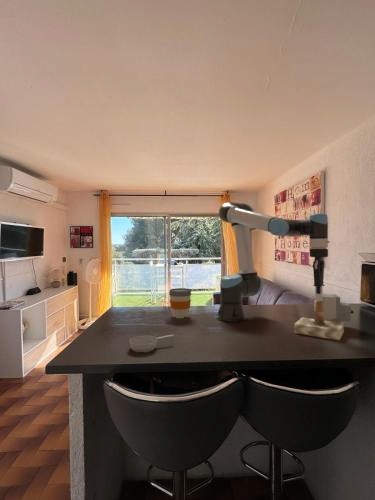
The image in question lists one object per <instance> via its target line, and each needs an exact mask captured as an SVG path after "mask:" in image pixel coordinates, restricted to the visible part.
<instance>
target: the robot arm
mask: <svg viewBox="0 0 375 500" xmlns="http://www.w3.org/2000/svg"><path fill="white" fill-rule="evenodd" d="M218 216H219V218H220V219H221V221H222V222H224V223H229V224H230V225H231V228H232V229H233V230H234V236H235V245H236V246H235V247H236V257H237V264H238V272H236V274H235V273H233V274H227V275H223V276H222V277H221V278H220V283H219V287H220V288H219V289H220V291H219V292H220V293H219V294H220V305H219V309H218V310H217V311H218V312H217V320H219V321H223V322H231V323H234V322H235V323H236V322H237V323H238V322H243V321H245V320H246V318H247V317H246V312H245V309H244V306H243V298H248V297H254V296H257V295H259V294H260V293H261V292H262V290H263V286H264V284H263V283H264V282H263V280H262V278H261V276H260V275H258V271H257V270H256V269H255V267H254V265H255V264H254V257H253V249H252V240H251V231H250V230H251V229H250V228H254V229H257V230H260V231H264V232H268V233H270V234H271V235H273V236H276V237H281V236H284V237H285V236H286V237H303V236H306V237H307V236H309V248H310V249H309V257H310V258H314V259H313V260H314V261H313V262H312V263H313V264H312V269H313V271H312V272H313V282H314V283H313V287H315V293H314V294H315V296H314V297H315V299H314V301H323V294H324V293H323V287H325V284H324V277H325V275H324V274H325V261H324V258H328V257H329V249H328V247H329V243H330V240H329V238H328V237H329V229H328V228H329V219H328V215H327V214H326V213H312V214H309V216H308V218H307V219H299V220H298V219H288V218H282V217H281V218H280V217H276V216H271V215H267V214H263V213H259V212H256V211H255V210H254V208H253V207H252V206H251V205H250V204H246V203H241V202H234V201H233V202H231V201H228V202H225V203H223V204H222V205H221V206H220V207H219V209H218Z"/></svg>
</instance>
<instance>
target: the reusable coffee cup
mask: <svg viewBox="0 0 375 500" xmlns="http://www.w3.org/2000/svg"><path fill="white" fill-rule="evenodd" d="M191 290H192V289H190V288H185V287H183V288H182V287H180V288H178V287H177V288H171V289H169V294H168V295H169V306H170V309H171V313H172V317H173V318H174V317H176V318H175V319H185V318H184V317H186V318H189V315H190V314H189V313H190V308H191V302H192V299H191V297H192V291H191Z"/></svg>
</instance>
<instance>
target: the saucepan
mask: <svg viewBox="0 0 375 500" xmlns="http://www.w3.org/2000/svg"><path fill="white" fill-rule="evenodd" d="M174 336H175V334H174V333H173V334H169V335H168V334H167V335H163V336H159V337H156V336H154V335H138V336H134V337H132V338H130V339H129V346H130V349H131V350H132V351H133V352H135V353H139V352H144V353H149V352H151V351H154V350H155V348H156V346H157V345H158V340H163V339H166V338H171V337H174Z"/></svg>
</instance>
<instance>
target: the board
mask: <svg viewBox="0 0 375 500" xmlns="http://www.w3.org/2000/svg"><path fill="white" fill-rule="evenodd" d="M314 322H315V321H314V318H311V317H310V318H308V317H300V318H299V320H297V321H296V322H294V325H293V326H294V327H293V329H294V330H293V331H294V332H293V333H295V334H299V335H306V336H312V337H317V338H323V339H329V340H336V341H340V340H341V338H342V336H343V335H344V333H345V323H344V322H342V321H340V322H333V321H326V320H324V322H323V323H324V325H316V324H314Z"/></svg>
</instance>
